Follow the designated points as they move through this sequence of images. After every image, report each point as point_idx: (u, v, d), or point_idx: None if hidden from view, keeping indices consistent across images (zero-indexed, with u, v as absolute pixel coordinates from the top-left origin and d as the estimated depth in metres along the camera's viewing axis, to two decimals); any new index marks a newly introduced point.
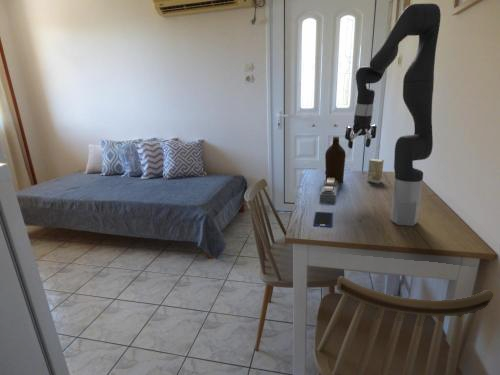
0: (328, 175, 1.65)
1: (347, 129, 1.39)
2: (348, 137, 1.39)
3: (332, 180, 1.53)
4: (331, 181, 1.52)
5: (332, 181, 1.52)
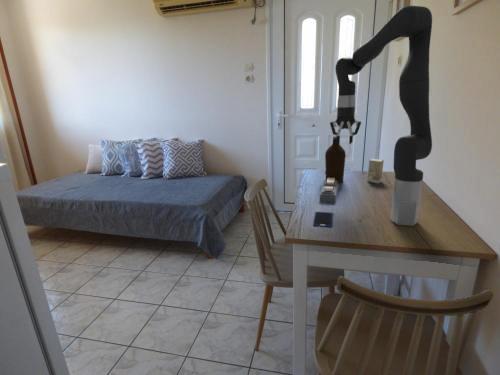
0: (328, 175, 1.65)
1: (330, 124, 1.39)
2: (333, 131, 1.39)
3: (332, 180, 1.53)
4: (331, 181, 1.52)
5: (332, 181, 1.52)
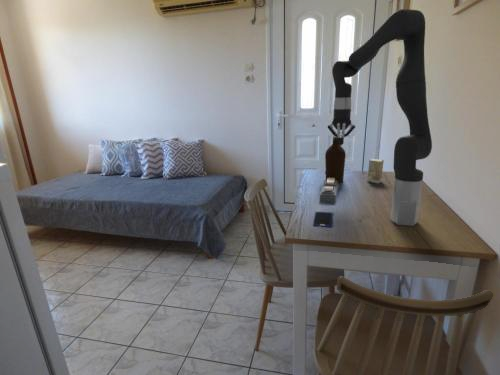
0: (328, 175, 1.65)
1: None
2: (333, 133, 1.41)
3: (332, 180, 1.53)
4: (331, 181, 1.52)
5: (332, 181, 1.52)
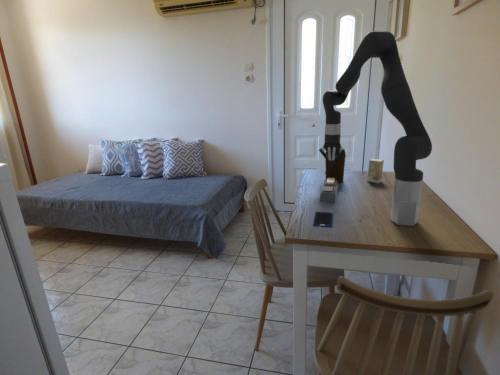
0: (328, 175, 1.65)
1: None
2: (325, 156, 1.51)
3: (332, 180, 1.53)
4: (331, 181, 1.52)
5: (332, 181, 1.52)
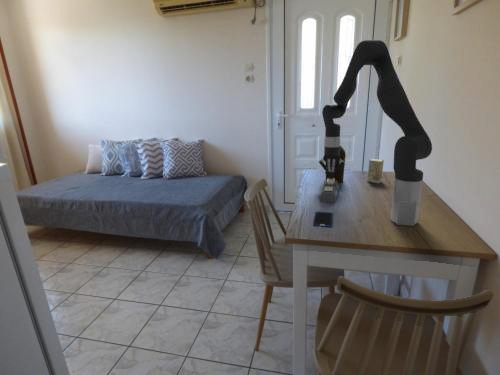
0: None
1: None
2: (324, 168, 1.54)
3: (332, 180, 1.53)
4: (331, 181, 1.52)
5: (332, 181, 1.52)
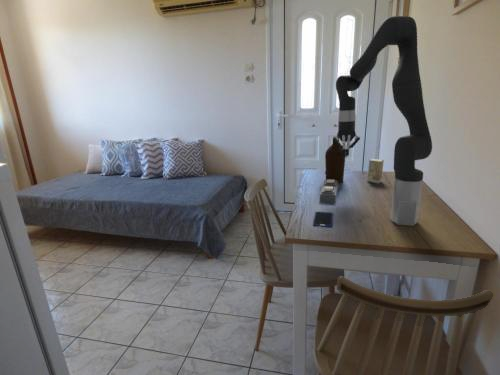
0: (328, 175, 1.65)
1: (334, 140, 1.46)
2: (339, 145, 1.44)
3: None
4: (331, 180, 1.52)
5: (332, 180, 1.52)
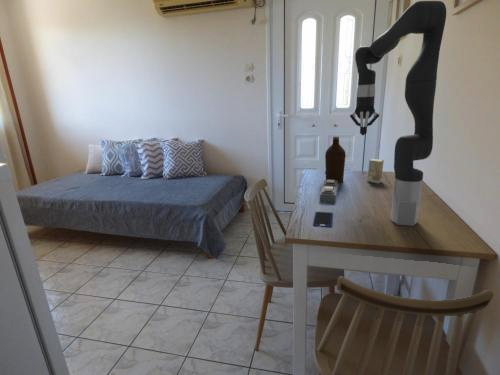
0: (328, 175, 1.65)
1: (351, 117, 1.38)
2: (356, 123, 1.36)
3: None
4: (331, 180, 1.52)
5: (332, 180, 1.52)
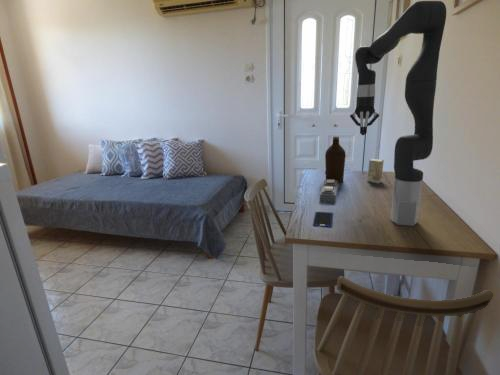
0: (328, 175, 1.65)
1: (351, 117, 1.38)
2: (356, 123, 1.36)
3: None
4: (331, 180, 1.52)
5: (332, 180, 1.52)
